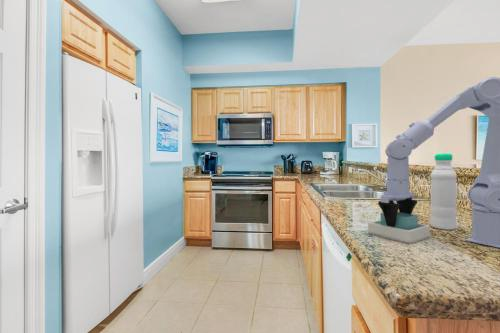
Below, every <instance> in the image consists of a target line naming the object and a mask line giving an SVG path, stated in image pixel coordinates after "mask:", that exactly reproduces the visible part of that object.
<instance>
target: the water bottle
mask: <svg viewBox="0 0 500 333" xmlns="http://www.w3.org/2000/svg"><path fill="white" fill-rule="evenodd" d="M434 161H435V163H436V164H435V166H434V167H433V170H432V171H431V173H430V220H429V221H430V222H429V223H430V226H431V227H432V228H435V229H440V230H445V231H446V230H447V231H451V230H456V229H457V226H458V225H457V222H458V221H457V215H458V214H457V212H458V211H457V200H458V199H457V196H458V193H457V192H458V187H457V185H458V184H457V178H458V175H457V172H456V170H455V169H454V167H453V166H452V162H453V154H452V153H435V155H434Z"/></svg>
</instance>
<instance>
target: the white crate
mask: <svg viewBox="0 0 500 333" xmlns="http://www.w3.org/2000/svg"><path fill="white" fill-rule="evenodd" d="M367 225H368V226H367V228H368V229H367V234H369V235H371V236H372V235H373V236H375V237H376V236H377V237H379V238H383V239H388V240H393V241H395V242H399V243H403V244H407V245H411V244H414V243H418V242H420V241H423V240H426V239H430V238H431V237H430V236H431V235H430V234H431V233H430V230H431V229H430V226H431V225H427V224H422V223H418V228H416V229H412V230H409V231H408V230H403V229H398V228H394V227H389V226H384V225H381V219H379V220H374V221H369V222H367Z"/></svg>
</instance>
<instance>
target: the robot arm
mask: <svg viewBox="0 0 500 333" xmlns="http://www.w3.org/2000/svg"><path fill="white" fill-rule="evenodd" d="M467 108H469V109H471V110H474V111H477V112H479V113H481V114H483V115H484V116H486V117H487V118H488V123H487V128H486V135H485V140H484V148H483V154H482V159H481V165H480V170H479V174H478V176H476V178H475V179H474V180H473V181H474V182H473V185H472V186H471V187H470V189H469V190H468V193H467V197H468V200H469V201H470V202H471V204H472V209H471V212H472V213H471V232H472V233H471V237H467V238H466V239H465V241H467V242H470V243H475V244H480V245H485V246H490V247H494V248H497V249H498V248H499V249H500V77H497V76H489V77H486V78H484V79H482V80H480V81H479V82H478V83H476V84H474V85H471V86H470V87H467V89H465V90H464V91H462V92H461V93H458V94H457V95H456V96H455V95H454V96H453V97H452V98H450V99H449V100H448V101H447V102H445V103H444V104H443V105H442V106H441V107H440V108H439V109H437V110H436V111H434V113H433V114H431V116H429V117H428V118H427V119H425V120H418V121H415V122H411V123H410V124H409V125H408V128H407V129H406V130H405V131H403V132H402V133H401V134H397V135H396V136H395V139H394V140H393V141H390V142H389V143H388V144H387V145H386V148H385V151H384V152H385V155H386V156H387V159H386V161H387V164H386V182H387V183H386V187H387V188H386V192H384V193H383V195H380V200H379V201H377V202H378V204H377V205H378V206H379V208H380V209H381V211H382V213H383V214H384V217H385V221H386V224H387V226H391V227H395V224H396V216H397V212H401V213H407V214H413V211H414V209H415V207H416V205H417V204H418V200H416V199H414V198H415V193H414V192H411V191H410V164H409V156H411V154H412V151H413V150H416V149H417V148H419V146H421V145H422V144H423V143H425V142H426V141H427V140H429V139H430V138H431V137H432V136H434V131H435V128H436V127H438V126H439V125H441V123H443V122H444V121H446V120H447V119H449V118H451V116H453V115H455V113H457V112H458V111H461V110H465V109H467ZM395 202H396V203H395Z"/></svg>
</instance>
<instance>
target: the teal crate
mask: <svg viewBox="0 0 500 333" xmlns="http://www.w3.org/2000/svg"><path fill="white" fill-rule="evenodd" d="M380 220H381V225H384V226H387V224H386V221H385V217H384V214H383V212H380ZM418 224H419V215H417V214H413V213H412V214H407V213H401V212H399V211H398V212H397V216H396V224H395V227H394V228H398V229H403V230H408V231H409V230H412V229H416V228H418ZM389 227H391V226H389Z"/></svg>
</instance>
